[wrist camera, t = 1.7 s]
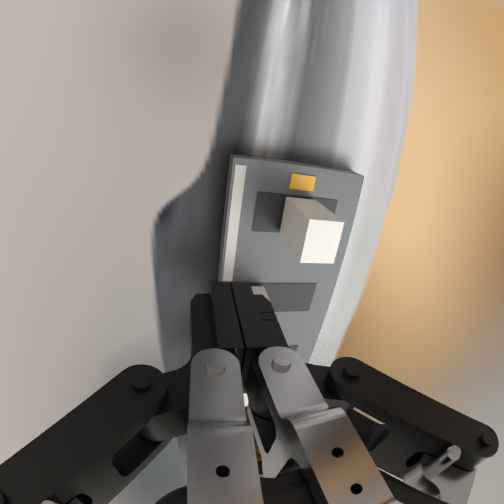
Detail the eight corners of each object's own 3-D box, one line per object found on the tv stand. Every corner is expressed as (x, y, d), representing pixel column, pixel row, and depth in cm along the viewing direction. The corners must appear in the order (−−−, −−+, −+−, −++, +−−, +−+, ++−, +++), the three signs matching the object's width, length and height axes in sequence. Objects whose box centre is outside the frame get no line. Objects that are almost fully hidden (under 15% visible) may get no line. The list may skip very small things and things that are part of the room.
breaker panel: (298, 364, 34) (303, 376, 32) (210, 369, 32) (212, 382, 30) (352, 171, 24) (365, 176, 22) (230, 153, 22) (233, 157, 20)
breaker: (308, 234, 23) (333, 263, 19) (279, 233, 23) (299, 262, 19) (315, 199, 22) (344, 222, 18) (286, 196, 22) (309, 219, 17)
